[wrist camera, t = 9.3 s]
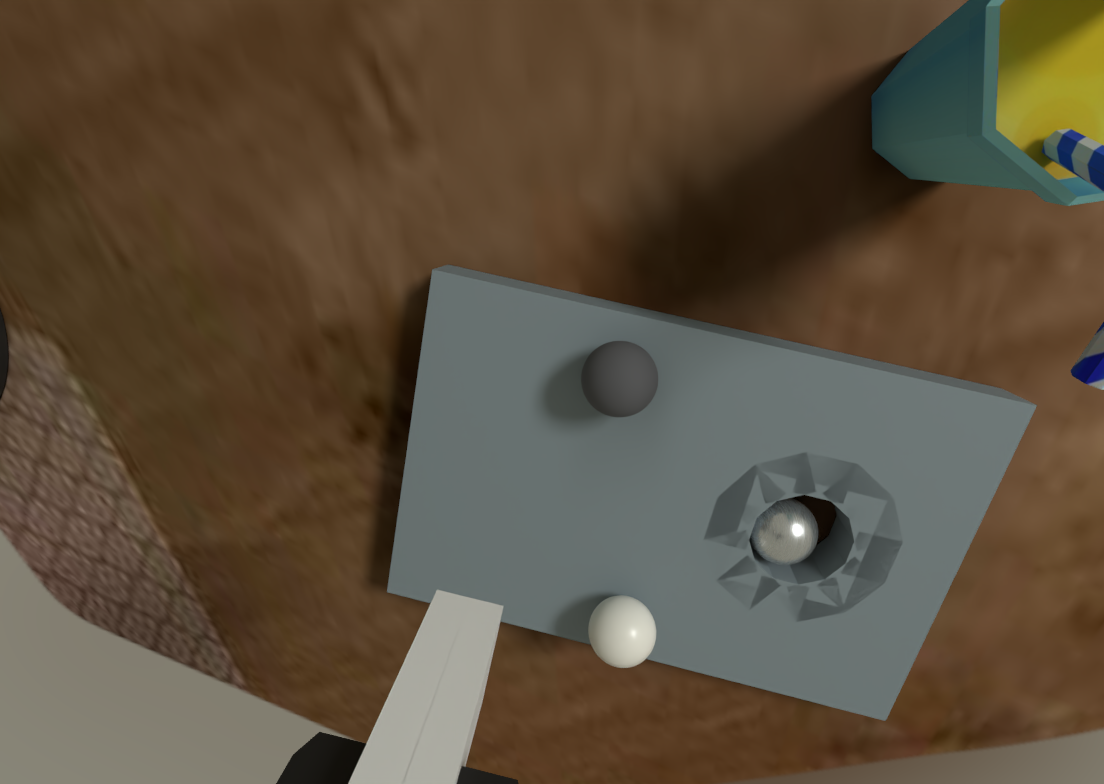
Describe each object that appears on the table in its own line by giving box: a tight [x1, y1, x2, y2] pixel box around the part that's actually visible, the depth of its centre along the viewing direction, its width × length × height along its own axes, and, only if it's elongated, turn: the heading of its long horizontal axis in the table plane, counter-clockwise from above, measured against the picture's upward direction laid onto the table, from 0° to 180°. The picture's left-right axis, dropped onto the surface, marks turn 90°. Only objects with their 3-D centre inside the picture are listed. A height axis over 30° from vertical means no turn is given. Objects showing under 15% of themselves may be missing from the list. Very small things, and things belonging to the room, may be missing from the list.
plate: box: [387, 265, 1037, 721], centre depth 29 cm, size 26×17×2 cm, turn 78°
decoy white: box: [588, 595, 656, 668], centre depth 29 cm, size 3×3×3 cm
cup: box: [871, 0, 1104, 390], centre depth 18 cm, size 14×8×15 cm, turn 166°
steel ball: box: [749, 498, 818, 565], centre depth 29 cm, size 3×3×3 cm
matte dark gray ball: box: [581, 341, 658, 417], centre depth 25 cm, size 3×3×3 cm
